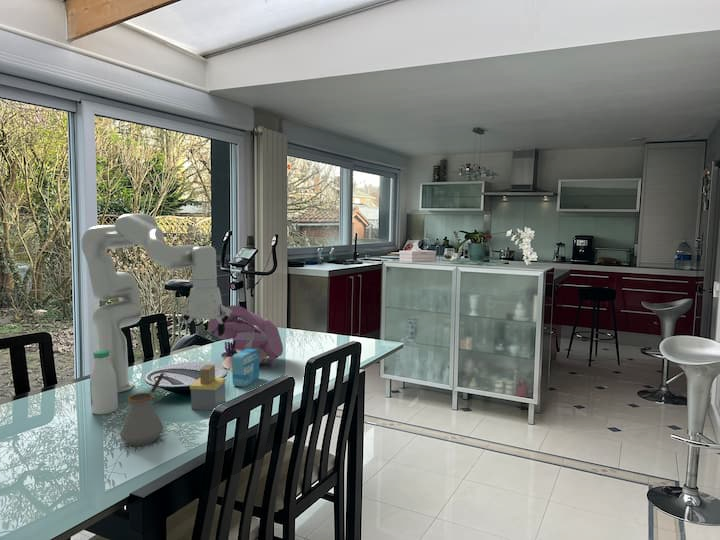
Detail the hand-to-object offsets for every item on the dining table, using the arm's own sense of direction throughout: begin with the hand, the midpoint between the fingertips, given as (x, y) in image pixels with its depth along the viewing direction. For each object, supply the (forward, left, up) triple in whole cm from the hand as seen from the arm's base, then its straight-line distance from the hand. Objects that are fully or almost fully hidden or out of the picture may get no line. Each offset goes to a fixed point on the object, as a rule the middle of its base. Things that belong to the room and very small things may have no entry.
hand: (207, 334), depth 170 cm
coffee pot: (-9, -23, -24) cm, 34 cm away
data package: (+5, +23, -24) cm, 34 cm away
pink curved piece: (-3, +46, -25) cm, 52 cm away
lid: (0, 0, -17) cm, 17 cm away
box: (0, 0, -24) cm, 24 cm away
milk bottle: (-32, -9, -24) cm, 41 cm away
